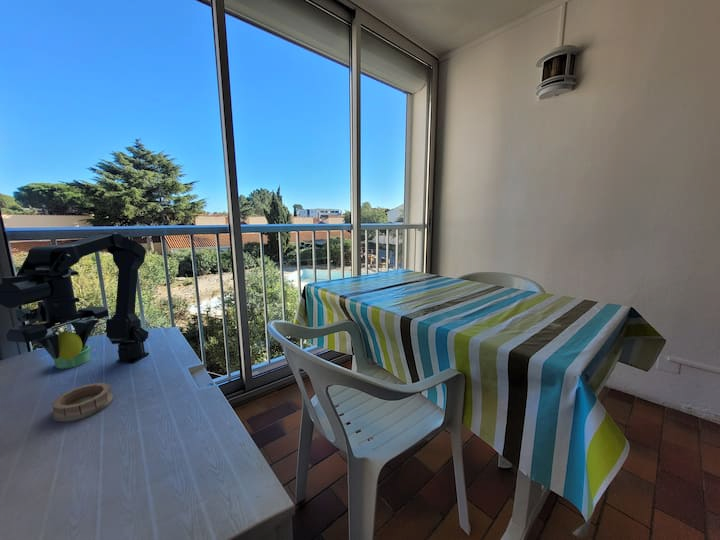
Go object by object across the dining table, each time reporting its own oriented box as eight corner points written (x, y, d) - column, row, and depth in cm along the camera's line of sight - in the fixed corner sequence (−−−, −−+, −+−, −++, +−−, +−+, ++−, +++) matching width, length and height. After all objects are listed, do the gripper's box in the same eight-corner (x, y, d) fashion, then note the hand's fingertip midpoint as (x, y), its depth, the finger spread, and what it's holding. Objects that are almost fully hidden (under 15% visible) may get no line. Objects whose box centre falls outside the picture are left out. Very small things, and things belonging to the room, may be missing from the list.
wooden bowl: (88, 391, 79) (86, 380, 78) (124, 394, 77) (122, 383, 77) (38, 420, 68) (35, 407, 67) (80, 424, 66) (77, 411, 66)
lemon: (88, 358, 77) (83, 329, 75) (60, 367, 72) (54, 337, 70) (79, 353, 79) (74, 326, 78) (51, 362, 74) (45, 333, 73)
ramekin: (45, 371, 89) (42, 358, 88) (67, 357, 97) (64, 346, 97) (80, 368, 91) (77, 355, 90) (98, 355, 99) (96, 343, 99)
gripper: (73, 286, 82) (82, 336, 85) (-21, 305, 64) (-5, 368, 67) (106, 287, 81) (114, 339, 84) (19, 307, 63) (34, 372, 65)
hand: (69, 353), depth 75 cm, fingers closed on lemon, 5 cm apart
